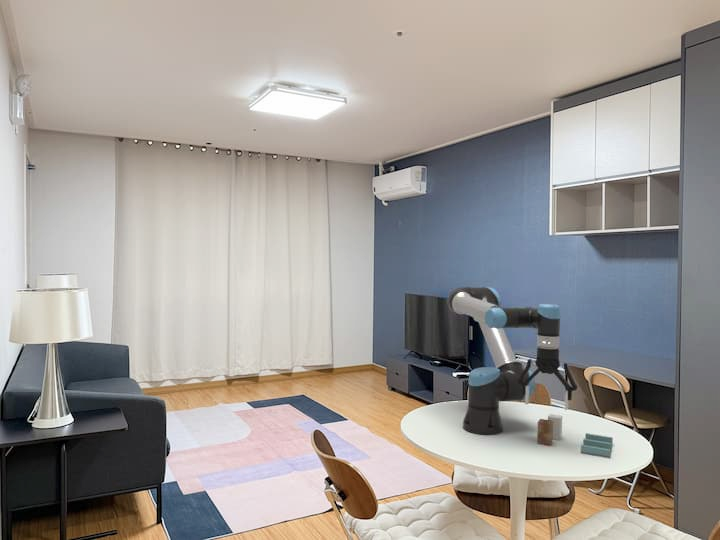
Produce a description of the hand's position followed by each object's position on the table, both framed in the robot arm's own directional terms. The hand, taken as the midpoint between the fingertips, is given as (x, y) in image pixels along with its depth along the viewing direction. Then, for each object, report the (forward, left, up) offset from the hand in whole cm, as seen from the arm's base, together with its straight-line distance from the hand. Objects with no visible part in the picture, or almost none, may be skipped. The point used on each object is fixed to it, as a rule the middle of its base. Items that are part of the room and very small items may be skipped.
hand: (546, 406), depth 196 cm
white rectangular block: (+2, +9, -13) cm, 16 cm away
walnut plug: (0, 0, -13) cm, 13 cm away
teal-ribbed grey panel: (+17, +4, -13) cm, 22 cm away
